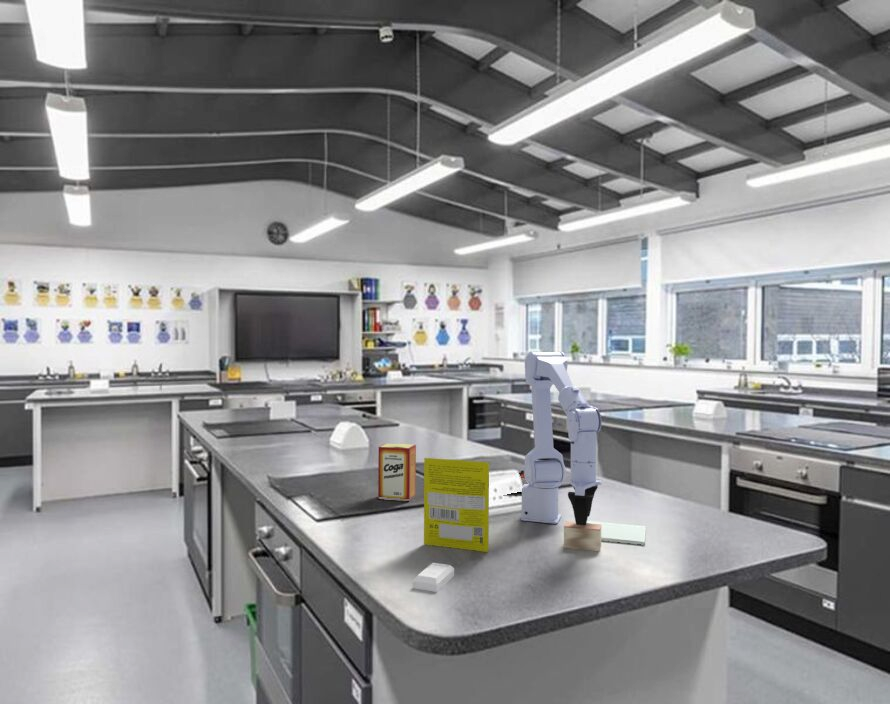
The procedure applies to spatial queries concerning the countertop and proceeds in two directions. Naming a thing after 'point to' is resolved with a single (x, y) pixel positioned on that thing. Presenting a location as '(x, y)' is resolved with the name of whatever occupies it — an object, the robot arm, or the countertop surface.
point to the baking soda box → (397, 471)
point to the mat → (622, 532)
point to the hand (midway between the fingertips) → (583, 520)
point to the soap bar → (433, 577)
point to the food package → (456, 504)
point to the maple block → (582, 536)
